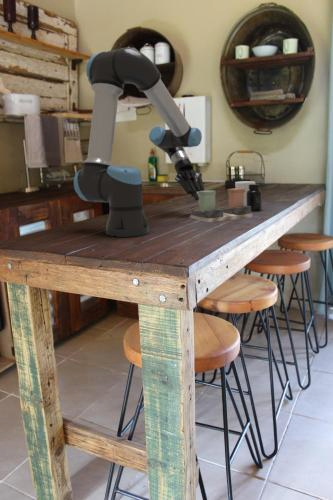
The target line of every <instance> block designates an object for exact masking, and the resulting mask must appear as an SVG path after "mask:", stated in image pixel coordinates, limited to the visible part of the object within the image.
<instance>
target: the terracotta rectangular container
mask: <svg viewBox="0 0 333 500" xmlns="http://www.w3.org/2000/svg"><path fill="white" fill-rule="evenodd" d="M244 192H245V189H242V188H227V193H228V208H229V209H233V207H239V206H244Z"/></svg>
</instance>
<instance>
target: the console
mask: <svg viewBox="0 0 333 500" xmlns="http://www.w3.org/2000/svg"><path fill="white" fill-rule="evenodd" d="M253 216H254V215H253V213H252V211H251V206H239V207H233V209H229V207H223V206H219V207H218V208H215V209H211V210H205V212H201V211H200V210H195V209H191V214H189V219H191V220H196V221H201V222H203V223H209V222H210V223H214V222H215V223H216V222H217V221H218V222H225V221H233V220H234V221H235V220H241V219H247V218H249V219H250V218H254V217H253ZM218 222H217V223H218Z"/></svg>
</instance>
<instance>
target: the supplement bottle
mask: <svg viewBox="0 0 333 500" xmlns="http://www.w3.org/2000/svg"><path fill="white" fill-rule="evenodd" d="M260 188H261V187H260V183H255V184H249V190H248V191H247V206H251V212H261V211H262V210H263V204H262V201H263V199H262V197H263V193H262V190H260Z"/></svg>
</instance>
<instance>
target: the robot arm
mask: <svg viewBox="0 0 333 500" xmlns="http://www.w3.org/2000/svg"><path fill="white" fill-rule="evenodd" d="M85 72H86V77H87V81H88V82H89V84H90V89H91V90H92V91H93V94H94V96H93V97H94V98H93V104H92V115H91V124H90V133H89V141H88V150H87V158H86V159H85V160H84V161H82V164H81V165H82V166H81V169H79V170H77V172H76V173H75V174H74V178H73V187H74V191H75V192H76V194H77V195H78V197H79V198H80V199H81V200H83V201H85V202H90V203H109V205H108V206H109V215H108V219H107V222H106V224H105V225H106V227H105V234H107V235H106V236H108V235H110V236H109V237H114V236H116V237H117V238H130V237H139V236H145V235H147V234H149V232H150V231H149V229H150V228H149V224H148V221H147V218H146V216H145V213H144V208H143V207H144V205H143V204H144V203H143V179H142V172H141V169H139V168H137V167H135V166H134V167H133V166H129V165H128V166H127V165H114V164H113V162H112V155H113V149H114V148H113V146H114V140H115V139H114V138H115V129H116V119H117V111H118V104H119V97H120V96H122V95H123V94H124V88H125V85H128V84H132V85H134V86H135V87H136V88H137V90H138V91H139V92H143V93H144V94H145V96H146V98H147V99H148V101H150V103H151V104H152V106H153V108H155V109H154V110H156V112H157V113H158V114H159V116H160V118H161V119H162V120H163V122H164V123H165V124H166V126H167V128H168V129H165V128H164V127H162V126H161V125H156V126H153V127H152V128H151V130H150V131H149V135H148V139H149V141H150V142H151V143H153V145H154V146H156V147H157V148H159V149H160V150H161V151H163V152H164V153H166V155H168V158H169V160H170V161H171V164H172V166H173V168H174V170H175V172H176V175H175V178H174V180H175V181H176V182H177V183H179V185H180V186H181V187H182V189H183V190H184V191H185V193H186V194H187V195H189V196H191V197H193V198H194V200H195V201H196V202H197V203H198V205H199V195H198V191H205V185H204V182H203V179H202V178H203V174H202V172H199V173H197V172H196V170H194V166H193V163H192V162H191V160H190V157H189V156H188V154H187V152H186V150H185V148H194V147H199V146H200V144H201V141H202V139H203V137H202V131H201V130H200V128H198V127H192V126H191V125H190V123H189V122H188V120H187V119H186V117H185V115H184V114H183V113H182V111H181V109H180V107H179V106H178V105H177V103H176V101H175V100H174V97H172V95H171V93H170V92H169V90H168V89H167V87H166V86H165V83H164V82H163V81H162V79H161V77H162V74H161V72H160V70H159V68H158V67H157V66H156V65H155V63H153V61H152V60H151V59H149V57H148V56H146V55H145V54H144V53H143V52H141V51H140V50H138V49H136V48H133V47H120V48H117V49H112V50H108V51H101V52H98V53H95V54H94V55H92V56H91V57H90V58H89V59H88V62H87V64H86V70H85ZM199 207H200V205H199ZM116 237H115V238H116Z"/></svg>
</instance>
